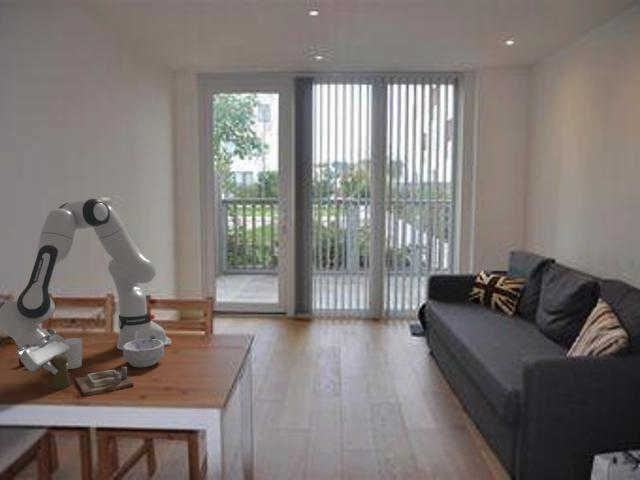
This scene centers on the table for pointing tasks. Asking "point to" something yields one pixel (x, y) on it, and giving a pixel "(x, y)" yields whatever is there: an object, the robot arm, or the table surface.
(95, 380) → the peg board
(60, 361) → the olive brown peg
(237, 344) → the table surface
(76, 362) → the white cup
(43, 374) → the table surface
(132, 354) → the paper bowls
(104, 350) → the table surface
